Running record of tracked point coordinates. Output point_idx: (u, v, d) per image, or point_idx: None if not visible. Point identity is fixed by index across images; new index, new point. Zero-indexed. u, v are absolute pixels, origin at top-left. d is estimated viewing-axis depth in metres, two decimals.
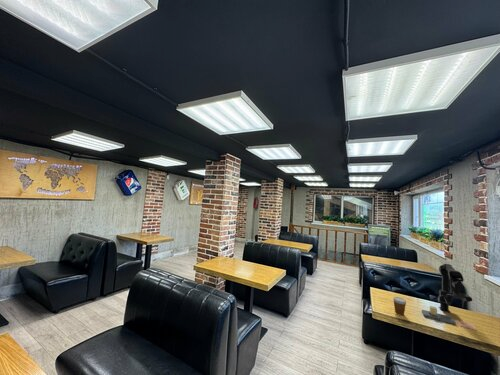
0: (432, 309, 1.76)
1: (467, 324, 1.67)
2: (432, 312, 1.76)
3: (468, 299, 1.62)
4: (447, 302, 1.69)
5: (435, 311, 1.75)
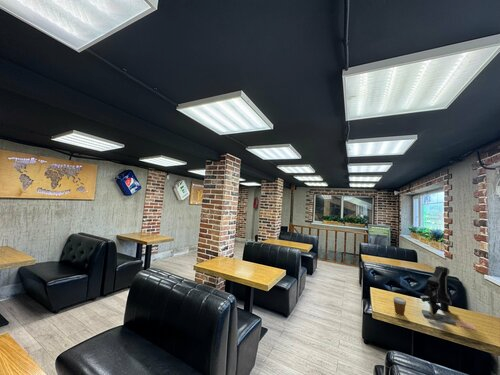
0: None
1: (467, 324, 1.67)
2: (432, 312, 1.76)
3: (430, 305, 1.73)
4: None
5: None
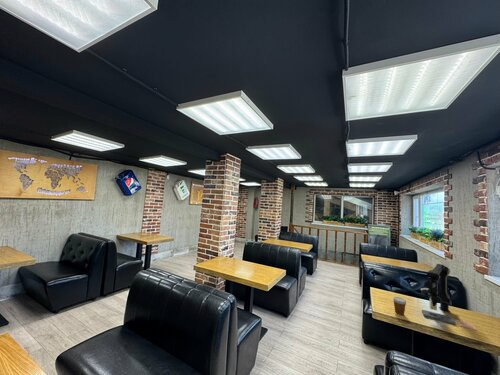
0: None
1: (467, 324, 1.67)
2: (432, 304, 1.76)
3: (430, 297, 1.73)
4: None
5: None
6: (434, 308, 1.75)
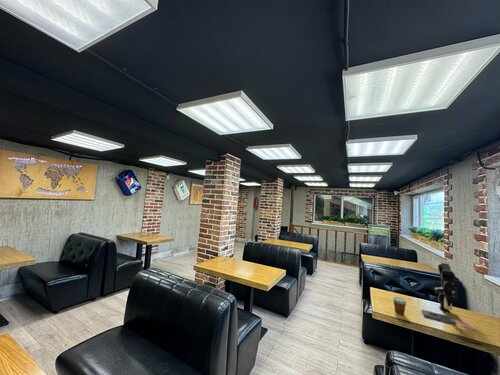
0: None
1: (467, 324, 1.67)
2: None
3: (445, 296, 1.69)
4: None
5: None
6: (449, 308, 1.71)
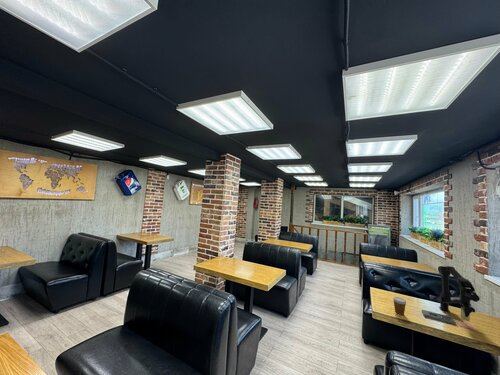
0: None
1: (467, 324, 1.67)
2: (464, 314, 1.66)
3: (463, 307, 1.63)
4: None
5: None
6: (467, 319, 1.65)
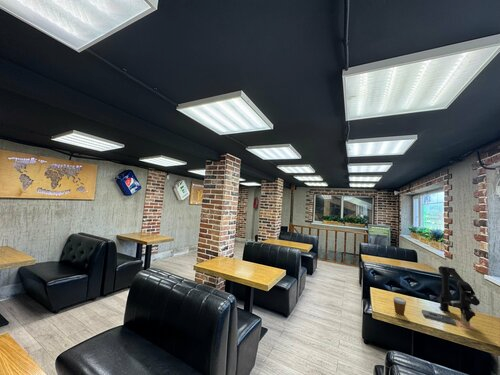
0: (464, 316, 1.66)
1: None
2: (464, 319, 1.66)
3: (463, 311, 1.63)
4: None
5: None
6: (467, 324, 1.65)
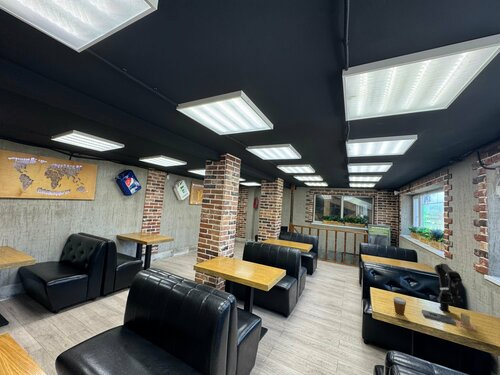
0: (464, 316, 1.66)
1: None
2: (464, 319, 1.66)
3: (451, 297, 1.72)
4: (449, 300, 1.81)
5: (468, 318, 1.65)
6: (467, 324, 1.65)
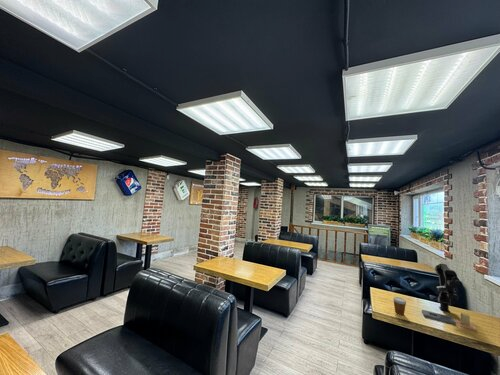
0: (464, 316, 1.66)
1: None
2: (464, 319, 1.66)
3: (447, 295, 1.75)
4: (446, 298, 1.83)
5: (468, 318, 1.65)
6: (467, 324, 1.65)
